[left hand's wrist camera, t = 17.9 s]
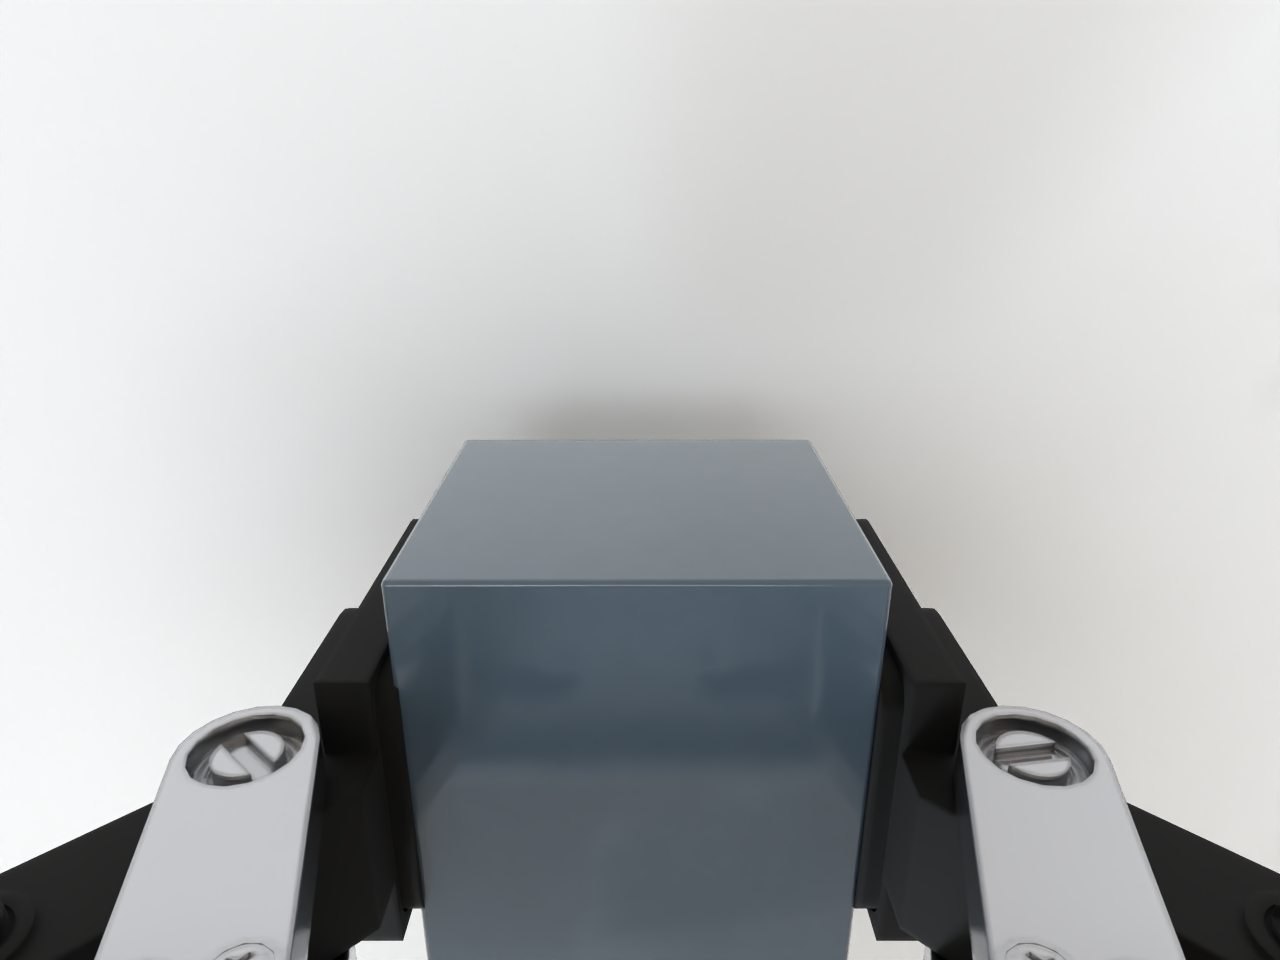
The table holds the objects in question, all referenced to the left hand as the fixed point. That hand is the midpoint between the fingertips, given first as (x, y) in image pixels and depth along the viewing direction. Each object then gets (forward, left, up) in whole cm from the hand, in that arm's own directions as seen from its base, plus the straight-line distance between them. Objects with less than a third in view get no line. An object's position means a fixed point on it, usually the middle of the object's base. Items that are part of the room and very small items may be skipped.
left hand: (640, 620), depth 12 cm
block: (0, 0, 0) cm, 0 cm away
